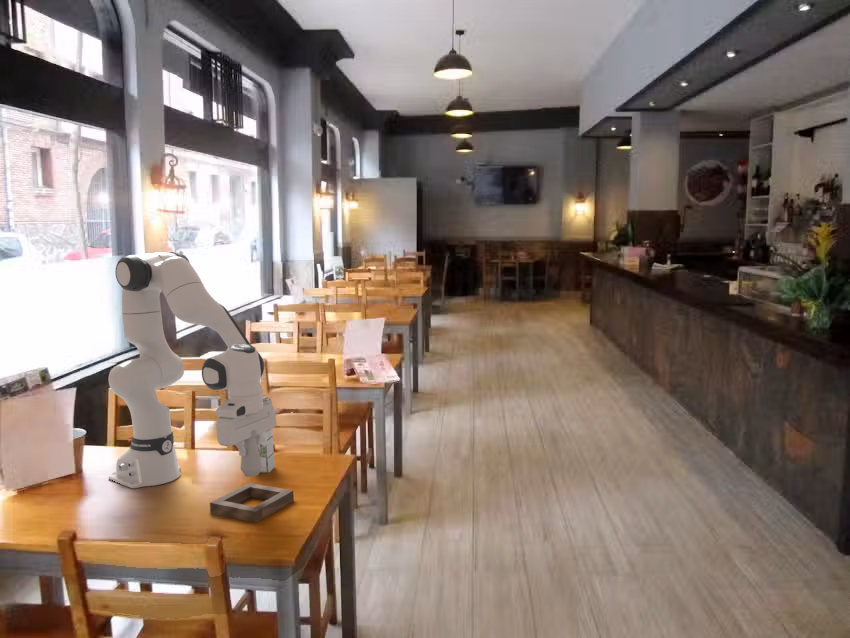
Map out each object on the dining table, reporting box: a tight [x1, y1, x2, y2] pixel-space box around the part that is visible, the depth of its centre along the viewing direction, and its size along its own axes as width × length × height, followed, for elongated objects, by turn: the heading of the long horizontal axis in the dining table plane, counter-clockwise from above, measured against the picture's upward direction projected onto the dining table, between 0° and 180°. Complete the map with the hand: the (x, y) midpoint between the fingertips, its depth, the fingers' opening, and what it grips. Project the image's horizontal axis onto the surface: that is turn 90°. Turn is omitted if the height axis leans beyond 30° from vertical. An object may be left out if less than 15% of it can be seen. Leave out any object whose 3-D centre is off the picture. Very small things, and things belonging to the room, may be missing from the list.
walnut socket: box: [209, 482, 295, 523], centre depth 191 cm, size 16×16×3 cm
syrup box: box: [258, 428, 276, 474], centre depth 220 cm, size 6×6×14 cm
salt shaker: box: [240, 430, 262, 478], centre depth 189 cm, size 6×6×13 cm
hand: (249, 452), depth 189 cm, fingers closed on salt shaker, 4 cm apart
